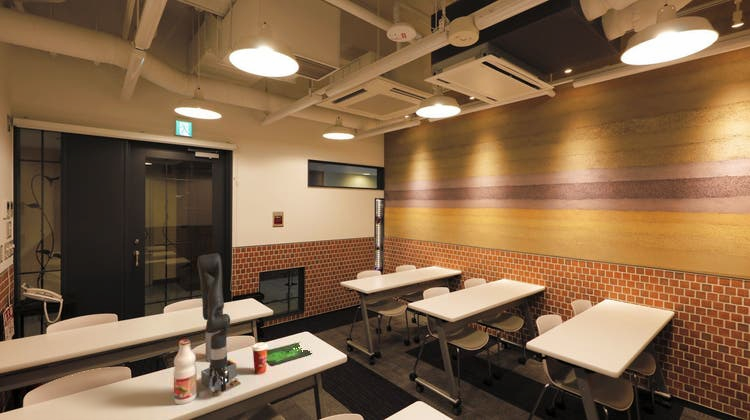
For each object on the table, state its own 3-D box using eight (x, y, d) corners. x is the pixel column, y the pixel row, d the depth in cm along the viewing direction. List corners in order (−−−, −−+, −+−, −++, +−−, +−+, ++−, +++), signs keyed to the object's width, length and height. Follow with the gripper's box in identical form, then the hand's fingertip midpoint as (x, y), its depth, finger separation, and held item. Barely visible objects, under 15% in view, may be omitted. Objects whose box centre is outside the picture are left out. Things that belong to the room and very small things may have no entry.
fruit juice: (199, 398, 155) (199, 340, 155) (178, 407, 148) (177, 347, 148) (192, 390, 161) (191, 335, 161) (171, 399, 154) (170, 341, 154)
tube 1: (201, 384, 167) (201, 370, 167) (215, 378, 173) (214, 365, 173) (208, 389, 163) (208, 375, 163) (222, 382, 169) (222, 369, 169)
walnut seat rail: (212, 393, 159) (212, 390, 159) (237, 382, 169) (237, 378, 169) (215, 396, 157) (215, 392, 157) (240, 384, 168) (240, 380, 168)
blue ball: (212, 389, 160) (212, 381, 159) (221, 385, 163) (221, 377, 163) (217, 393, 157) (217, 384, 157) (225, 388, 160) (225, 380, 160)
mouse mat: (300, 342, 219) (300, 340, 219) (314, 354, 201) (314, 352, 201) (259, 353, 203) (259, 351, 203) (270, 367, 185) (270, 365, 185)
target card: (212, 387, 164) (211, 387, 164) (234, 377, 174) (234, 377, 174) (216, 390, 162) (216, 389, 162) (238, 379, 172) (238, 379, 172)
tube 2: (216, 377, 174) (216, 364, 174) (229, 372, 180) (229, 359, 180) (223, 382, 170) (223, 368, 169) (236, 376, 175) (236, 363, 175)
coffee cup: (263, 376, 175) (262, 348, 175) (249, 374, 177) (249, 347, 177) (271, 368, 183) (270, 342, 183) (257, 367, 185) (257, 341, 185)
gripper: (203, 354, 161) (204, 387, 161) (218, 362, 152) (219, 397, 153) (218, 349, 167) (218, 380, 167) (233, 356, 159) (234, 389, 159)
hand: (219, 388), depth 160 cm, fingers open, 7 cm apart
